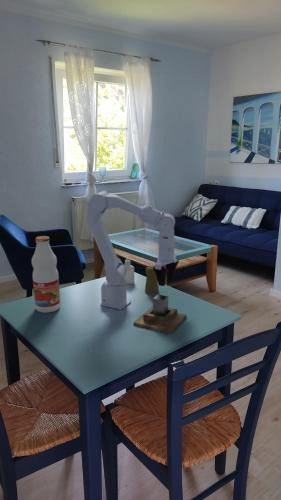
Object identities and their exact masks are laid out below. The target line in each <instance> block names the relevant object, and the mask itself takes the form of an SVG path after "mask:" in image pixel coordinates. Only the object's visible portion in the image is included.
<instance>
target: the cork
mask: <svg viewBox="0 0 281 500" xmlns="http://www.w3.org/2000/svg"><path fill="white" fill-rule="evenodd" d="M154 266H155V265H149V266H147V267H145V274H146V279H145V288H144V293H146V294H147V295H158V293H159V292H160V290H159V284H158V280H157V276H156V274H155V272H154V271H153V267H154Z"/></svg>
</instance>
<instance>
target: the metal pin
mask: <svg viewBox="0 0 281 500" xmlns="http://www.w3.org/2000/svg"><path fill="white" fill-rule="evenodd" d="M152 307H153V314H154V315H158V316H163V317H165V316H166V315H167V314H168V308H169V296H167V295H164V294H158V293H157V294H156V296H154V297H153V298H152Z"/></svg>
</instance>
